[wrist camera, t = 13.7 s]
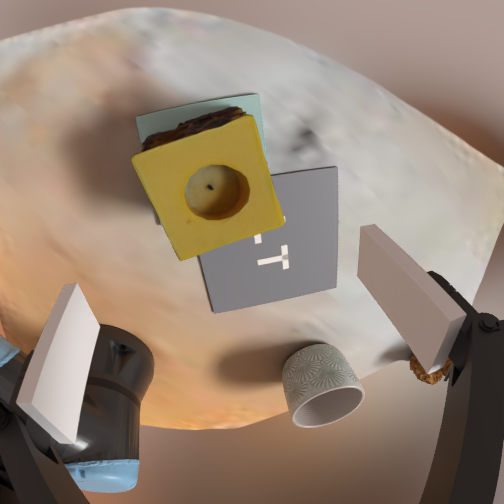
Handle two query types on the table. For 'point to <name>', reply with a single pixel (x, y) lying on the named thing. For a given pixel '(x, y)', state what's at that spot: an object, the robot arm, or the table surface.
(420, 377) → the stuffed squirrel
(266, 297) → the gray mat
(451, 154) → the table surface
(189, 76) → the table surface
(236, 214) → the candle
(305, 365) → the planter
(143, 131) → the pad
